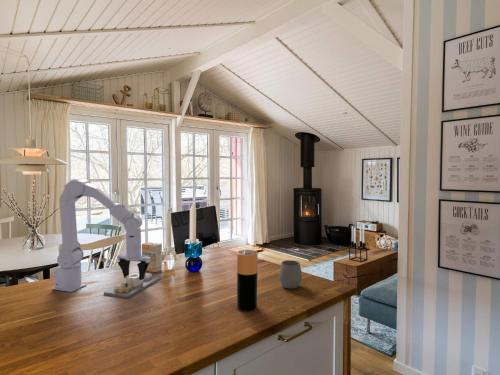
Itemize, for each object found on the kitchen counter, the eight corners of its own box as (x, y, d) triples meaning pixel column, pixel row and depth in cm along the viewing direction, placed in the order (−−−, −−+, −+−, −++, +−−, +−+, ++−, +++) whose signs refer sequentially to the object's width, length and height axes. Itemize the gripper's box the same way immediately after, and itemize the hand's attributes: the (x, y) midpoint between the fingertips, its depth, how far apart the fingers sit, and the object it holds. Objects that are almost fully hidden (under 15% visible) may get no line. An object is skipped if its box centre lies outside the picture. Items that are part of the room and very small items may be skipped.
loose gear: (123, 285, 131) (123, 277, 130) (134, 280, 137) (134, 272, 137) (134, 287, 129) (133, 279, 128) (145, 282, 135) (145, 274, 135)
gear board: (103, 294, 124) (103, 285, 124) (139, 276, 145) (139, 268, 145) (128, 298, 121) (128, 288, 120) (160, 279, 142) (160, 270, 141)
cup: (301, 283, 138) (301, 260, 138) (302, 291, 129) (303, 266, 129) (278, 282, 139) (279, 259, 139) (278, 290, 130) (279, 265, 130)
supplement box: (141, 271, 152) (140, 243, 151) (147, 268, 157) (147, 241, 156) (156, 273, 150) (156, 245, 149) (162, 270, 154) (162, 242, 154)
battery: (239, 313, 109) (239, 254, 108) (234, 304, 116) (235, 249, 115) (259, 310, 111) (260, 253, 110) (253, 302, 118) (254, 248, 117)
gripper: (111, 246, 130) (112, 279, 131) (143, 249, 126) (143, 283, 127) (123, 242, 137) (124, 274, 138) (153, 245, 133) (153, 277, 133)
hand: (134, 278), depth 133 cm, fingers open, 7 cm apart
